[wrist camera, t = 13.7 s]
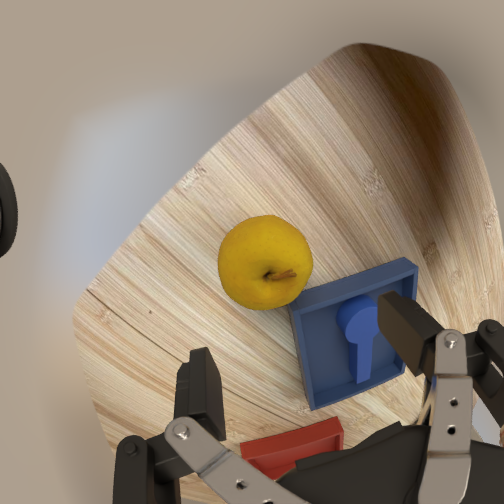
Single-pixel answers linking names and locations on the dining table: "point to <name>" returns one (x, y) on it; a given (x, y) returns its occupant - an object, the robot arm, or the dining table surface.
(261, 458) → the red tray
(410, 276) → the blue tray
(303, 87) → the dining table surface
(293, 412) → the dining table surface
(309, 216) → the dining table surface
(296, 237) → the apple
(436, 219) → the dining table surface
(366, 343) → the spoon
